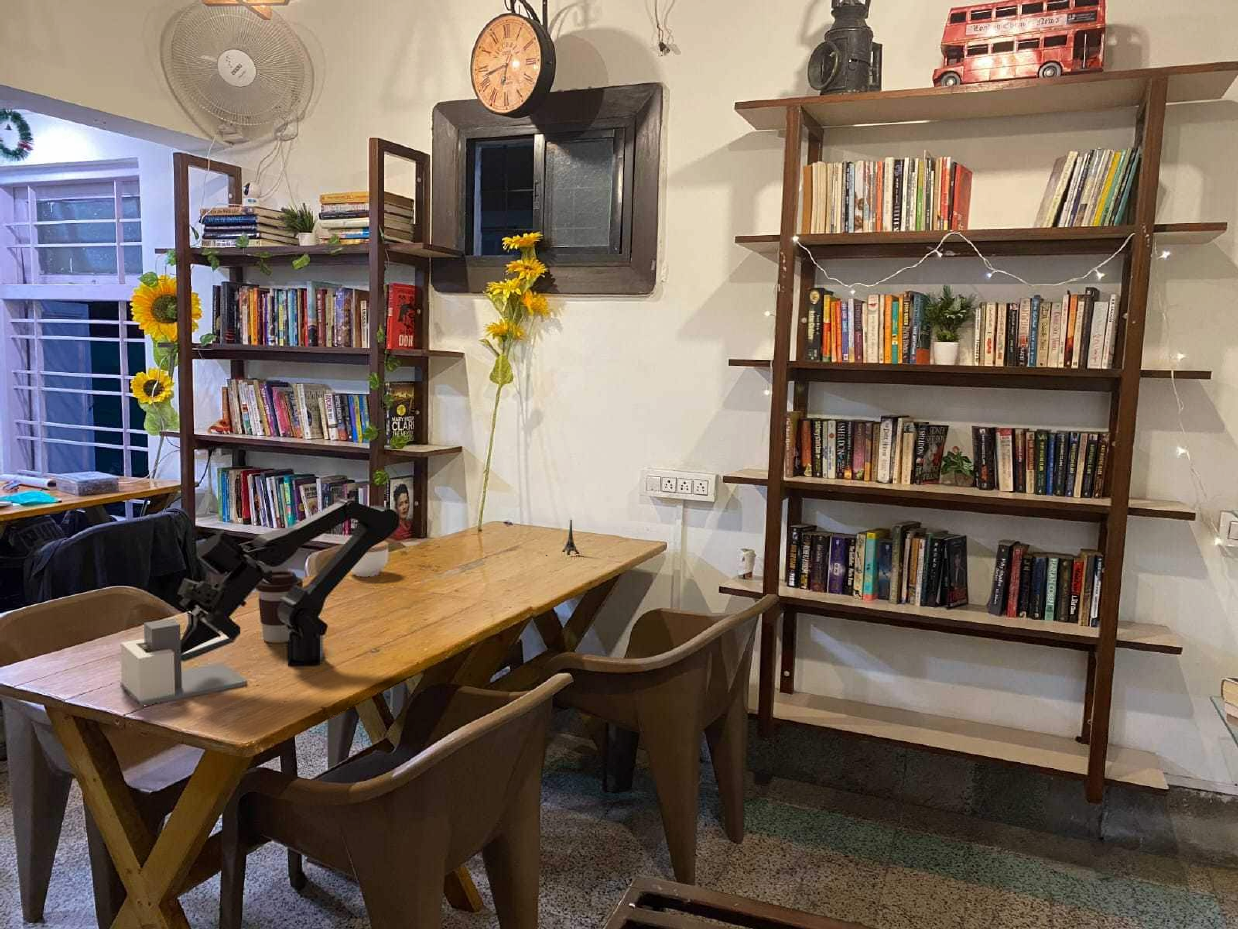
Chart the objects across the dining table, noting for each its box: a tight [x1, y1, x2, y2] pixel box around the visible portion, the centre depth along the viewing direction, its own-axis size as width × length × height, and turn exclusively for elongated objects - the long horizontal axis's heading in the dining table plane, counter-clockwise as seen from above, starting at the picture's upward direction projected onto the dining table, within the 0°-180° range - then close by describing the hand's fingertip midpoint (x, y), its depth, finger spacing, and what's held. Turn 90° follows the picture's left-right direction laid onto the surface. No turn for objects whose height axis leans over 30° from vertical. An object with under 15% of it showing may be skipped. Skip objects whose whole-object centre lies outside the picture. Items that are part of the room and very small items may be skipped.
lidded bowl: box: [350, 540, 390, 578], centre depth 277 cm, size 13×13×11 cm
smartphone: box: [181, 633, 234, 661], centre depth 206 cm, size 9×2×16 cm
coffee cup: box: [255, 570, 304, 644], centre depth 213 cm, size 10×10×15 cm
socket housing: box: [120, 638, 248, 707], centre depth 182 cm, size 19×14×9 cm
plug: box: [142, 618, 182, 687], centre depth 179 cm, size 6×5×12 cm
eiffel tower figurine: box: [561, 519, 580, 555], centre depth 312 cm, size 15×10×13 cm
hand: (178, 652), depth 181 cm, fingers closed, pressing on plug
